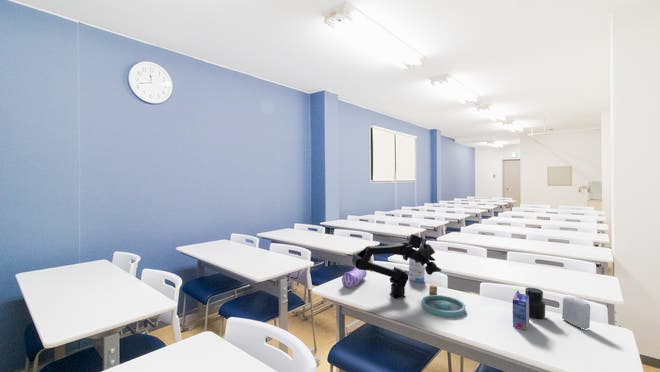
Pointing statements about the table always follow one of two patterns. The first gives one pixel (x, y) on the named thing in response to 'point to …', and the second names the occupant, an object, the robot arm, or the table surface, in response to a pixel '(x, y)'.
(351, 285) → the pencil case
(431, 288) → the wooden bead
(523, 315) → the ink cartridge box
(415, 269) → the ink box
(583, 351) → the table surface
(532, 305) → the ink bottle
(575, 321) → the photo printer
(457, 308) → the round tray
